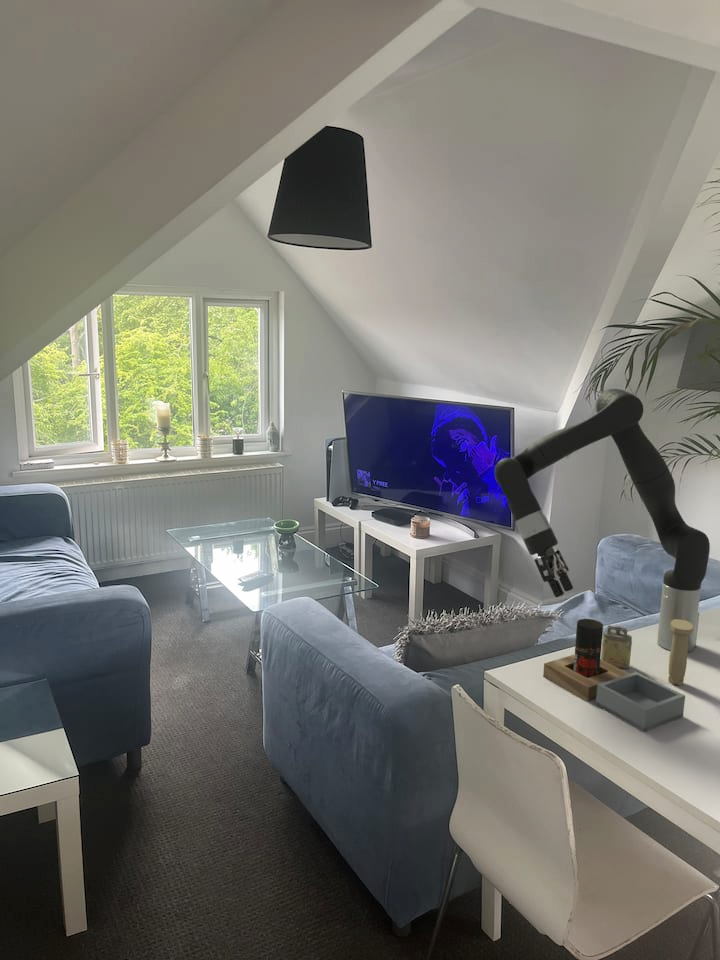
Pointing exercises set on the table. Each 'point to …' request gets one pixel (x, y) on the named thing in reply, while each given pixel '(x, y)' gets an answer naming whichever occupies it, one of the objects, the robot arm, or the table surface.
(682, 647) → the handle
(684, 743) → the table surface
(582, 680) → the holder
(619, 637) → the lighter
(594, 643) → the deodorant
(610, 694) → the bin
